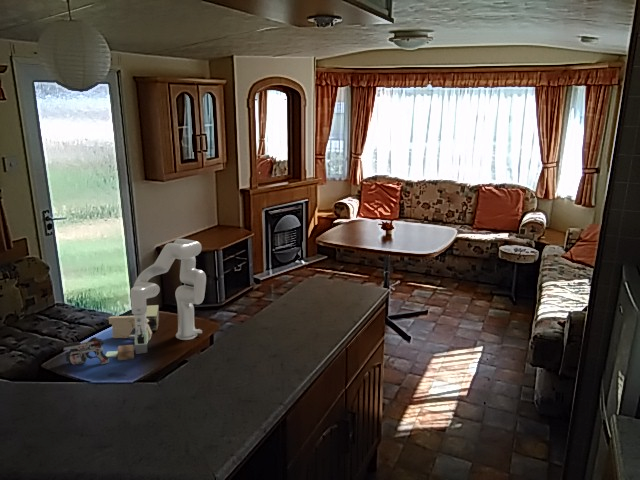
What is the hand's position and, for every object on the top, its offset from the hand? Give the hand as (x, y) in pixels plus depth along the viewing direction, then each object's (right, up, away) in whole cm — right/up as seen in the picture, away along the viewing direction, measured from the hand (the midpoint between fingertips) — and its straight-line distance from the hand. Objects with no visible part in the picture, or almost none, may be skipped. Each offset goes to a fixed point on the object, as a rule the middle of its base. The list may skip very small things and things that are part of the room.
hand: (141, 340), depth 281 cm
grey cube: (-5, -9, +14) cm, 17 cm away
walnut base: (-11, -10, +7) cm, 16 cm away
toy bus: (-11, 0, +50) cm, 51 cm away
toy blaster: (-28, -12, -3) cm, 31 cm away
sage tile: (-19, -9, +8) cm, 23 cm away
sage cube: (0, -1, 0) cm, 1 cm away
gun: (-16, -5, +30) cm, 34 cm away
